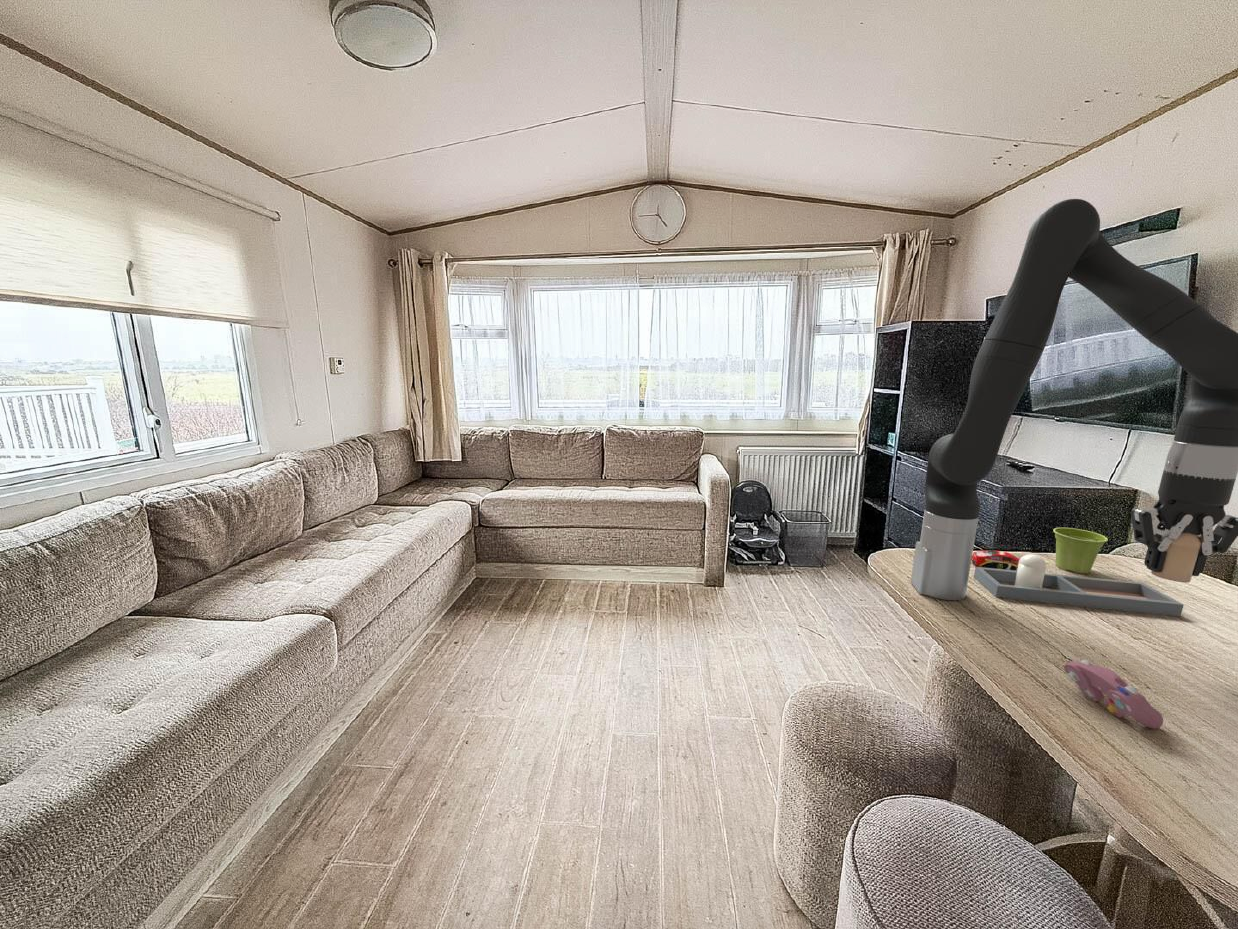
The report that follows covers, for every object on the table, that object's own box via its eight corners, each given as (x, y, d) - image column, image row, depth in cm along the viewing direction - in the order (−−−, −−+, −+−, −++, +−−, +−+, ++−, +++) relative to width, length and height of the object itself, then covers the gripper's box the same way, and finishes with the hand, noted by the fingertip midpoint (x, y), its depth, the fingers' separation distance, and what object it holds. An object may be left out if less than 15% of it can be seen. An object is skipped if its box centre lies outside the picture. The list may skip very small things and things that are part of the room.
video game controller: (1064, 693, 74) (1053, 657, 72) (1092, 680, 74) (1081, 643, 72) (1138, 743, 64) (1127, 702, 62) (1170, 728, 64) (1160, 687, 62)
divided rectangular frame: (995, 597, 101) (997, 585, 101) (973, 577, 111) (975, 566, 110) (1180, 616, 94) (1183, 604, 93) (1140, 593, 103) (1142, 582, 103)
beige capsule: (1164, 580, 80) (1177, 532, 78) (1143, 569, 84) (1155, 524, 82) (1198, 584, 78) (1212, 535, 77) (1175, 573, 83) (1188, 526, 81)
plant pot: (1111, 577, 112) (1120, 541, 110) (1070, 576, 112) (1077, 540, 110) (1074, 561, 121) (1081, 527, 119) (1036, 560, 121) (1042, 527, 119)
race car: (1035, 570, 116) (1038, 554, 115) (1043, 579, 111) (1047, 563, 110) (968, 560, 121) (971, 545, 120) (973, 568, 116) (976, 552, 115)
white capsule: (1020, 594, 102) (1027, 557, 101) (1009, 585, 107) (1016, 550, 105) (1045, 597, 101) (1052, 560, 100) (1033, 588, 106) (1040, 552, 104)
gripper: (1163, 473, 76) (1136, 576, 79) (1281, 480, 72) (1248, 587, 76) (1126, 464, 83) (1104, 559, 86) (1233, 470, 79) (1205, 568, 83)
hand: (1171, 571), depth 81 cm, fingers closed on beige capsule, 4 cm apart
